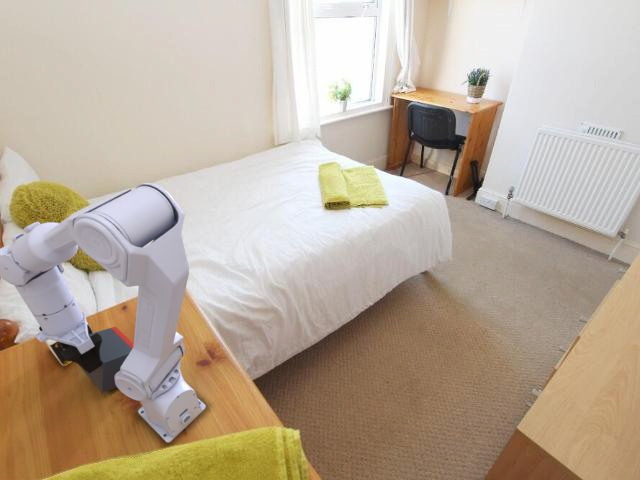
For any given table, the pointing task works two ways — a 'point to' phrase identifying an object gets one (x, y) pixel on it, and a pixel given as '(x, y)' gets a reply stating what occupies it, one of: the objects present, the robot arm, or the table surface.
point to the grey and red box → (110, 357)
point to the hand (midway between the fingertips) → (84, 358)
